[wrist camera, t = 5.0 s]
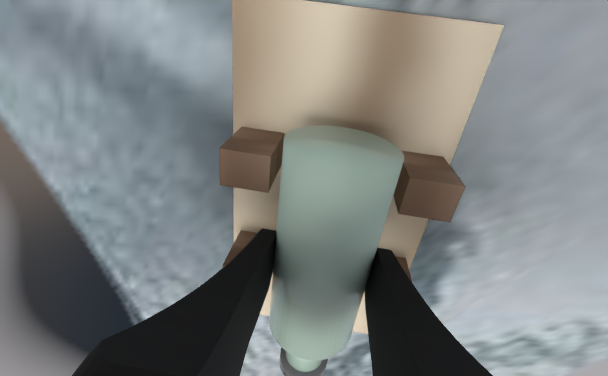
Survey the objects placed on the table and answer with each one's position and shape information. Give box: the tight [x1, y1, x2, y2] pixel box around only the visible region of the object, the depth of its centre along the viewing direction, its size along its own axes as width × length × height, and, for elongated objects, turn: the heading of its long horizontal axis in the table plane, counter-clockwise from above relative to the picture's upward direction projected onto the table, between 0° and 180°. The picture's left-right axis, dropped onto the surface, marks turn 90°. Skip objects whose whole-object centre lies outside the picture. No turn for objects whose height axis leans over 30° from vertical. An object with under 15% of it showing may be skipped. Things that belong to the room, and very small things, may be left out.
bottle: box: [269, 125, 404, 376], centre depth 13 cm, size 4×12×4 cm, turn 174°
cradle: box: [219, 0, 504, 334], centre depth 14 cm, size 10×18×4 cm, turn 174°
